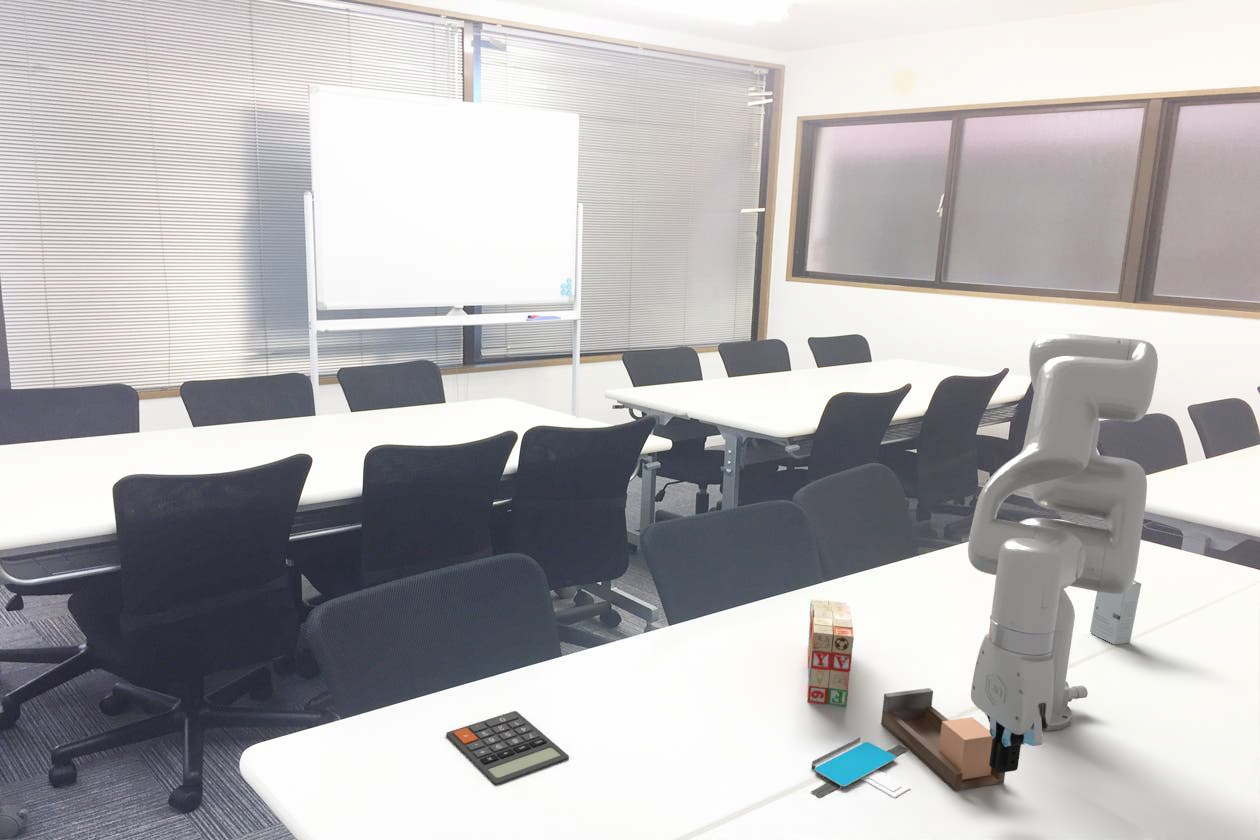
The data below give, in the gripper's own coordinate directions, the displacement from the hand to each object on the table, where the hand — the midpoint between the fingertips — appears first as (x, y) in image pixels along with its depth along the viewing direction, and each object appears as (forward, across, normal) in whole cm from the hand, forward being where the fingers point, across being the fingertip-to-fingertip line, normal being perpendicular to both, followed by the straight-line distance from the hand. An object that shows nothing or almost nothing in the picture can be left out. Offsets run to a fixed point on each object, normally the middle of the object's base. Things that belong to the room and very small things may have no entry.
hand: (1003, 768), depth 121 cm
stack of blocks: (+5, -39, -4) cm, 40 cm away
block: (+5, -8, 0) cm, 10 cm away
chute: (+5, -14, 0) cm, 15 cm away
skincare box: (+4, -40, +58) cm, 71 cm away
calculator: (+7, -30, -60) cm, 67 cm away
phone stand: (+6, -11, -13) cm, 18 cm away
